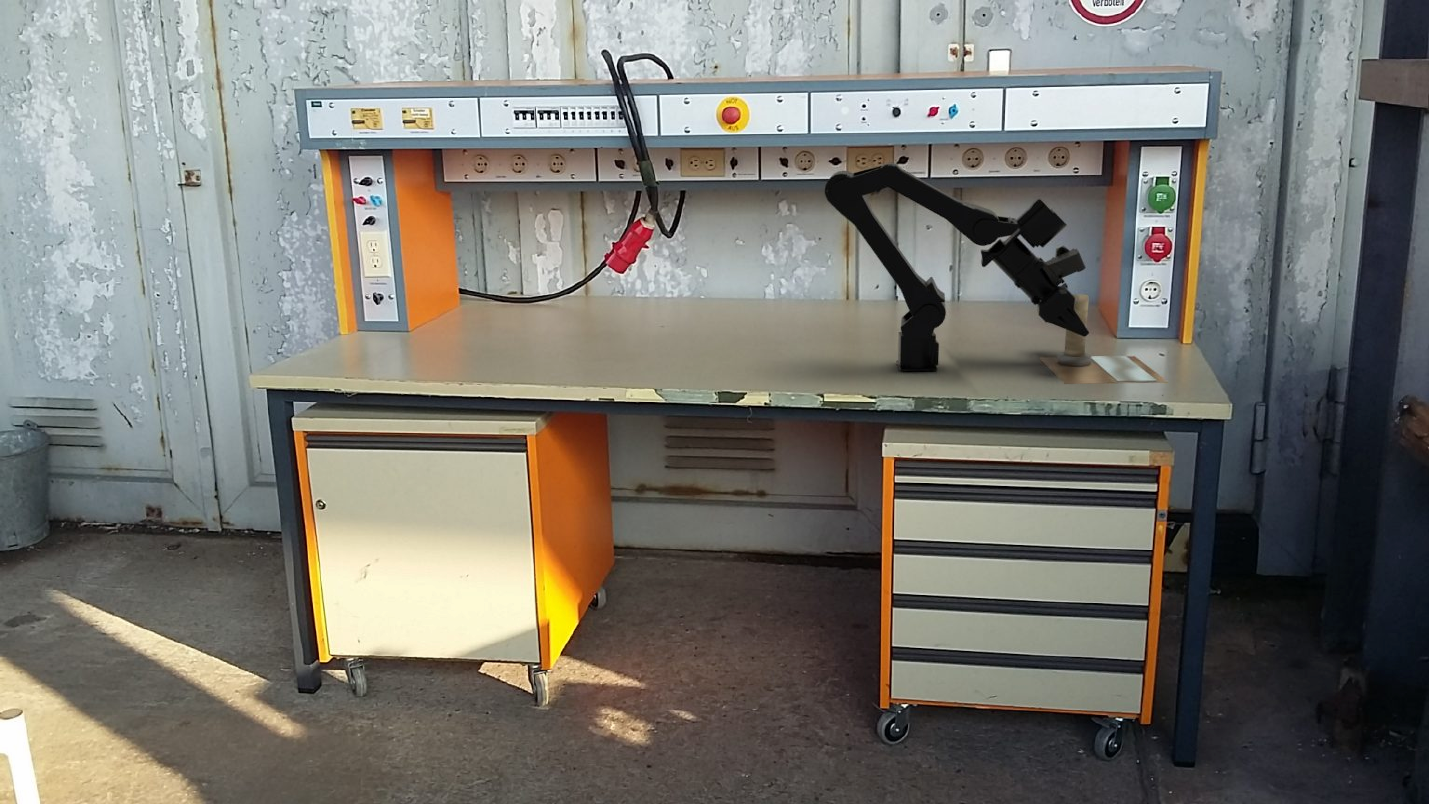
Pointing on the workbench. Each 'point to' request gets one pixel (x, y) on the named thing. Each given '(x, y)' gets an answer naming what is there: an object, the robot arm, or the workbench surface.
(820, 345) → the workbench surface
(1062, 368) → the board
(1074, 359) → the post
